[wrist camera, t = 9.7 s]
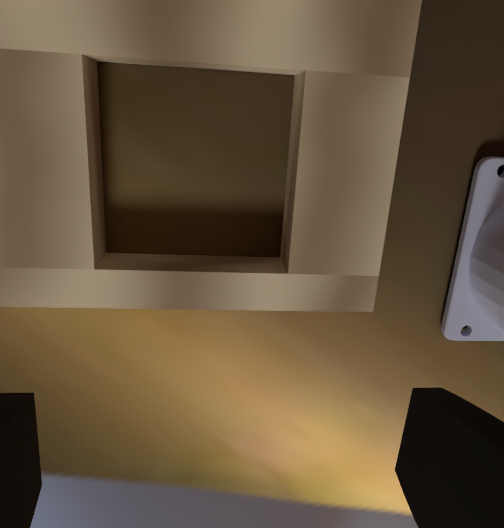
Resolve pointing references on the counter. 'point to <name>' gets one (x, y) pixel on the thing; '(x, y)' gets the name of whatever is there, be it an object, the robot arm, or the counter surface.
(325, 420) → the counter surface
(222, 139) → the counter surface
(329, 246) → the holder board
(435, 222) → the counter surface
